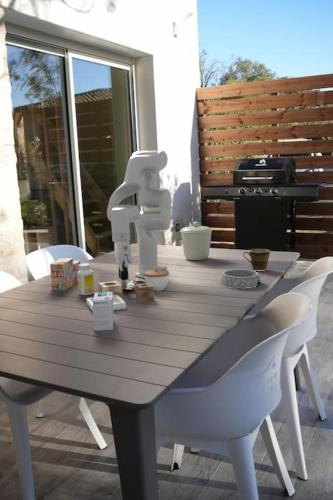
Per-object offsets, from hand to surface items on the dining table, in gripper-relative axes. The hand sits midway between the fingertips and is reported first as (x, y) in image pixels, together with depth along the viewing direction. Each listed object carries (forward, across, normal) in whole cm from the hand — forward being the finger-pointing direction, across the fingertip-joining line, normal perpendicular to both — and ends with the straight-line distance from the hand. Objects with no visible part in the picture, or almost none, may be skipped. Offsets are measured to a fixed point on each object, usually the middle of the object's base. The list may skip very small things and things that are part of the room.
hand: (123, 278), depth 219 cm
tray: (+5, -18, +13) cm, 23 cm away
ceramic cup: (+8, +9, -71) cm, 72 cm away
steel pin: (+4, 0, 0) cm, 4 cm away
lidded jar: (+7, -2, -14) cm, 16 cm away
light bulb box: (+5, -40, +19) cm, 44 cm away
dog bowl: (+7, -10, -51) cm, 53 cm away
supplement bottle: (+6, +5, +16) cm, 18 cm away
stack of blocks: (+7, +26, +20) cm, 34 cm away
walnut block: (+6, -15, -4) cm, 17 cm away
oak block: (+6, -6, +8) cm, 11 cm away
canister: (+9, +50, -56) cm, 76 cm away
